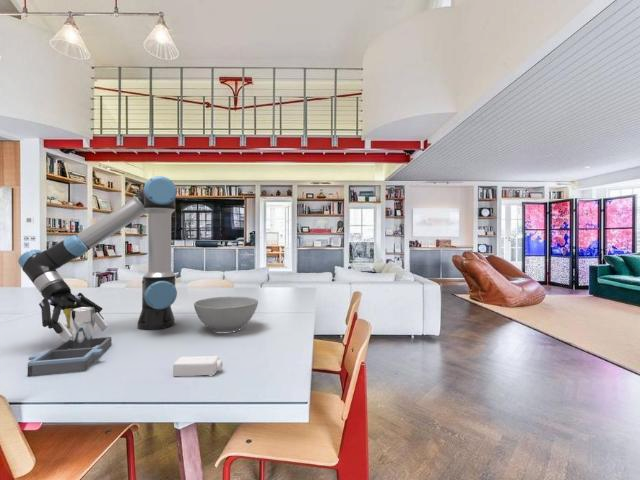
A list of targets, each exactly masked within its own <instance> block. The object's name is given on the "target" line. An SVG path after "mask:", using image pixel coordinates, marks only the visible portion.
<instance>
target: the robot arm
mask: <svg viewBox="0 0 640 480" xmlns="http://www.w3.org/2000/svg"><path fill="white" fill-rule="evenodd" d="M177 195H178V191H177V187H176V184H175V182H173V180H171V179H170V178H168V177H165V176H163V175H156V176H153V177H150V178H149V179H148V180H146V182H145V183H144V187H143V188H142V189H141V190H140V191H139V192H138V193H136V194H134V195H133V196H132V199H131V200H129V201H128V202H126V203H125V204H123V205H122V206H120V207H118V208H116V209H115V210H113V211H112V212H110V213H108V214H107V215H106V216H104V217H102V218H101V219H99V220H97V221H96V222H95V223H93V224H91V225H90V226H87V227H86V228H84V229H83V230H81V231H80V232H78V233H77V234H73V235H71V236H68V237H66V238H64V239H63V240H62V241H59V242H58V243H56V244H54V245H52V246H51V247H49V248H47V249H46V250H43V251H42V250H40V249H31V250H29V251H26V252H24V253H22V254H21V255H20V256H19V257H18V261H17V262H18V264H19V266H20V268H21V269H22V272H24V273H25V275H26V276H27V277H28V279H29V280H30V281H31V283H32V284H33V285H34V286H35V288H36V289H37V291H38V292H39V293H40V295H41V296H42V297H43V299H42V300H41V301H40V302H39V304H38V306H39V307H40V309H41V323H42V325H41V326H42V327H44V328H48V329H53V330H54V332H55V333H56V334H59V336H60V337H61V338H62V340H63V342H64V341H65V342H68V341H69V340H72V335H71V331H69V329H68V328H67V326H66V325H65V324H64V323H63V321H62V320H60V321H59V319H60V315H61V312H62V311H63V310H64V309H70V308H72V309H74V308H80V307H94V311H95V324H96V326H97V327H98V328H99V330H100V331H101V332H103V331H105V330H106V328H107V327H109V325H108V323H106V321H105V319H104V317H103V316H102V314H101V311H102V310H103V307H101V306H100V305H98V304H96V303H95V302H94V301H92V300H90V299H89V298H87V297H85V295H84V294H83V293H82V292H78V294H73V293H72V289H71V287H70V286H69V284H67V281H65V279H64V278H63V277H62V276H61V274H60V273H59V272H58V269H60V268H62V267H63V266H64V265H66V264H68V263H70V262H72V261H73V260H76V259H78V258H80V257H81V256H82V255H83V254H85V253H87V252H88V251H90V250H91V249H93V248H94V247H96V246H98V245H99V244H100V243H103V242H104V241H105V240H106V239H107V238H109V237H111V236H113V235H114V234H116V233H117V232H120V230H122V229H123V228H125V227H127V226H128V225H130V224H132V223H133V222H134V221H135V220H138V219H139V218H140V217H141V216H143V215H145V214H146V215H147V217H148V218H147V220H148V221H147V224H148V225H147V226H148V227H147V229H148V230H147V232H148V233H147V234H148V236H147V237H148V241H147V244H148V247H147V250H148V252H147V254H148V256H147V258H148V263H147V264H148V271H147V273H146V274H144V276H142V279H141V284H142V285H141V286H142V288H141V289H142V291H141V292H142V293H141V294H142V295H141V298H142V299H141V301H142V302H141V312H140V315H139V317H138V319H137V326H136V327H137V329H138V330H148V331H149V330H151V331H152V330H161V329H166V328H170V327H173V326H174V325H175V324H176V322H175V321H176V319H175V316H174V313H173V310H172V305H173V304H174V303H175V301H176V300H177V296H178V290H177V288H176V274H175V273H174V272H173V271H172V215H173V213H175V211H176V198H177ZM75 303H76V304H75ZM74 304H75V305H74ZM51 306H52V307H53V310H52V314H51Z"/></svg>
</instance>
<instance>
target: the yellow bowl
mask: <svg viewBox="0 0 640 480" xmlns="http://www.w3.org/2000/svg"><path fill="white" fill-rule="evenodd" d="M75 304H76V302H75ZM75 304H74V305H75ZM71 309H72V308H70V309H64V310H62V313H63V314H64V317H65V320H66V324H67V327H68V328H69V329H70V314H71ZM68 328H67V329H68Z"/></svg>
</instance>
